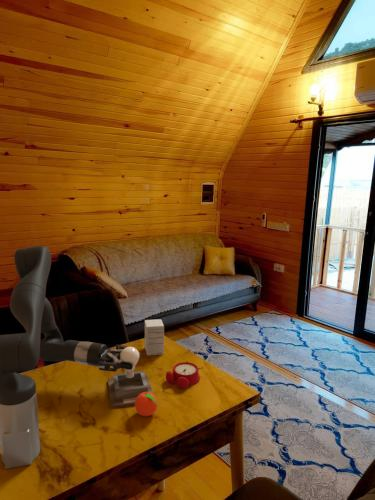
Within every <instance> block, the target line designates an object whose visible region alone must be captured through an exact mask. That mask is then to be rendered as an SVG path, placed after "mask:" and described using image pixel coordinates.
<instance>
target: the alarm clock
mask: <svg viewBox="0 0 375 500" xmlns="http://www.w3.org/2000/svg"><path fill="white" fill-rule="evenodd" d="M202 369H204V367H203V366H202V367H199V366H197V365H196V364H195V363H192V362H188V361H186V362H185V361H183V362H178V363H176V364H174V366H173V367H172V371H171V370H170V371H167V372H166V373H165V379H166V380H165V383H166V384H167V385H169V386H171V387H179V389H187V388H188V387H189V386H194V385H196V384H198V382H199V381H200V379H201V376H200V374H199V370H202ZM173 384H175V385H173Z"/></svg>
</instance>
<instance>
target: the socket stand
mask: <svg viewBox="0 0 375 500" xmlns="http://www.w3.org/2000/svg"><path fill="white" fill-rule="evenodd" d="M107 385H108V393H109V403H110V409H116V408H122V407H124V408H125V407H130V406H135V400H136V398H137V397H138V396H139V395H140V394H141V393H143V392H150V393H152V394H153V395H154V392H153V389H152V385H151V382H150V378H149V376H148V374H147V373H145V372H144V370H140V371H134V377H133V378H127V377H126V372H124V373H115V374H113V377H111V378H108V379H107Z"/></svg>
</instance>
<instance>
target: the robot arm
mask: <svg viewBox="0 0 375 500" xmlns="http://www.w3.org/2000/svg"><path fill="white" fill-rule="evenodd" d="M13 256H14V257H13V258H14V265H15V269H16V273H17V275H18V279H19V281H18V282H17V283H16V284H15V286H14V287H13V289H12V292H11V297H10V300H9V309H10V313H11V314H12V315H13V317H14V318H15V319H16V320H17V321H18V322H19V323H20V324H21V325H22V326H23V328H24V330H25V332H21V333H10V334H1V335H0V455H1V461H2V463H3V464H4V468H5V470H6V469H12V468H13V469H14V468H18V467H22V466H23V467H25V466H29V465H32V464H33V461H34V460H35V459H36V458H37V457H39V454H40V452H41V441H40V439H41V438H40V430H39V429H40V428H39V427H40V426H39V414H38V413H39V412H38V399H37V398H38V397H37V385H36V381H35V379H34V378H32V377H31V376H28V375H24V374H21V373H22V372H28V371H31V370H32V371H33V370H34V369H35V368H36V367H37V365H38V363H39V360H41V361H44V362H60V361H68V362H75V363H78V364H81V365H87V366H93V367H97V368H98V371H104V372H117V371H118V370H121V369H122V370H123V369H124V370H125V369H129V370H132V368H133V363H131V362H125V361H122V362H121V360H120V354H121V352H122V350H123V349H125V348H126V347H127V346H125V345H121V344H116V345H115V348H109V347H108V345H106V344H104V343H98V342H91V341H80V340H74V339H69V340H68V339H67V340H65V341H64V337H63V336H62V333H61V331H60V329H59V327H58V326H57V323H56V320H55V313H54V310H53V309H54V308H53V306H52V304H51V302H50V300H48V298H47V297H46V293H47V292H46V290H47V282H48V279H49V275H50V272H51V271H50V270H51V267H52V254H51V251H50V249H49V248H48V247H47V246H44V245H35V246H29V247H23V248H18V249H16V250H15V251H14V255H13ZM41 334H43V335H44V338H43V339H41ZM140 359H142V354H141V352H139V360H140ZM117 369H118V370H117Z"/></svg>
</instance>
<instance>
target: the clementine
mask: <svg viewBox="0 0 375 500" xmlns="http://www.w3.org/2000/svg"><path fill="white" fill-rule="evenodd" d="M134 408H135V410H136V412H137V414H139V415H141V416H142V417H150V416H152V415H153V414H154V413H155V412H156V411H157V408H158V399H157V397H156V395H155V394H154V393H153V394H152V393H150V392H143V393H141V394H140V395H139V396H138V397H137V398H136V400H135V405H134Z"/></svg>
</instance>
